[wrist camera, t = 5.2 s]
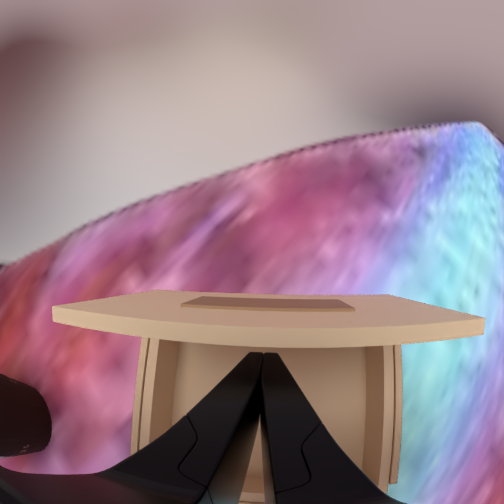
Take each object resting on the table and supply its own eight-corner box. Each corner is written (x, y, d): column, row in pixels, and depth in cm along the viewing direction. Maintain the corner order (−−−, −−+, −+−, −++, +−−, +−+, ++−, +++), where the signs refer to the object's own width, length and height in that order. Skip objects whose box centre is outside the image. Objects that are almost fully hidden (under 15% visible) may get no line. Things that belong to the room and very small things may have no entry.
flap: (387, 303, 15) (483, 334, 6) (157, 298, 17) (52, 321, 8) (388, 292, 15) (485, 314, 6) (157, 287, 17) (51, 302, 8)
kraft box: (373, 483, 14) (394, 499, 10) (155, 473, 15) (129, 486, 12) (376, 316, 20) (396, 296, 16) (171, 311, 21) (149, 290, 17)
